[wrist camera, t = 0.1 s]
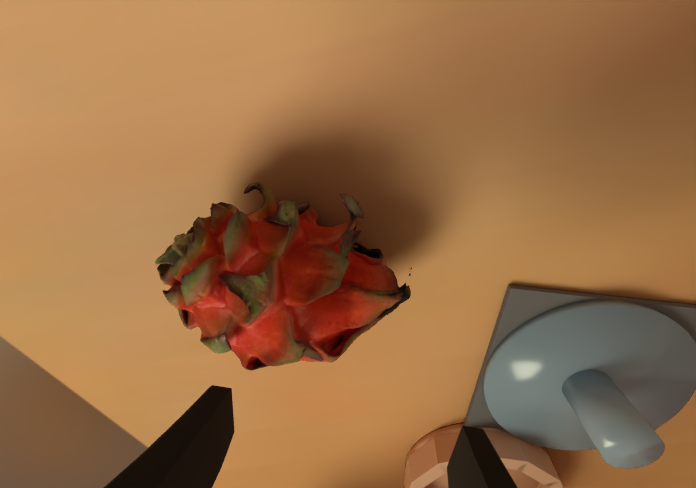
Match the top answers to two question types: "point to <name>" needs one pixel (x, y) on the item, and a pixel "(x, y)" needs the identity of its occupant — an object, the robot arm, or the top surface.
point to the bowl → (517, 455)
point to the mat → (535, 301)
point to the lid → (593, 379)
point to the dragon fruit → (278, 282)
